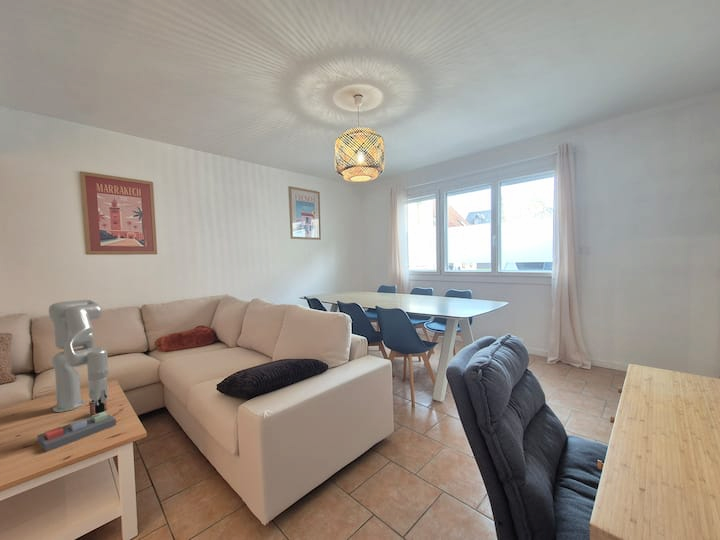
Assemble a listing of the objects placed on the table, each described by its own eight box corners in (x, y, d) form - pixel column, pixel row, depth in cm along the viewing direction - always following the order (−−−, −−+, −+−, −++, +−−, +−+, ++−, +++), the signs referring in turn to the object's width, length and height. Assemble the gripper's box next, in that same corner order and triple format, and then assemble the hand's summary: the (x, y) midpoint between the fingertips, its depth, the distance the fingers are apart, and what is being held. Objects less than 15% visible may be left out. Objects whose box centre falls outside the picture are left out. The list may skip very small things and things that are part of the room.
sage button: (91, 422, 144) (91, 415, 144) (104, 418, 148) (104, 411, 148) (95, 425, 142) (95, 418, 142) (108, 420, 146) (108, 414, 146)
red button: (44, 439, 131) (44, 432, 131) (60, 434, 135) (60, 426, 135) (48, 443, 128) (47, 435, 128) (63, 437, 132) (63, 429, 132)
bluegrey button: (69, 430, 137) (69, 423, 137) (83, 425, 142) (83, 418, 142) (72, 433, 135) (72, 426, 135) (87, 428, 139) (87, 421, 139)
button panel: (37, 441, 132) (37, 435, 132) (105, 417, 152) (104, 411, 152) (46, 452, 124) (45, 445, 124) (115, 425, 145) (115, 419, 145)
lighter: (92, 417, 153) (92, 398, 152) (87, 416, 153) (87, 397, 153) (109, 409, 161) (108, 391, 160) (104, 409, 161) (103, 391, 161)
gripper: (83, 375, 145) (84, 411, 145) (93, 380, 137) (95, 419, 138) (102, 370, 152) (104, 405, 152) (113, 375, 144) (115, 412, 144)
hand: (100, 412), depth 145 cm, fingers closed
